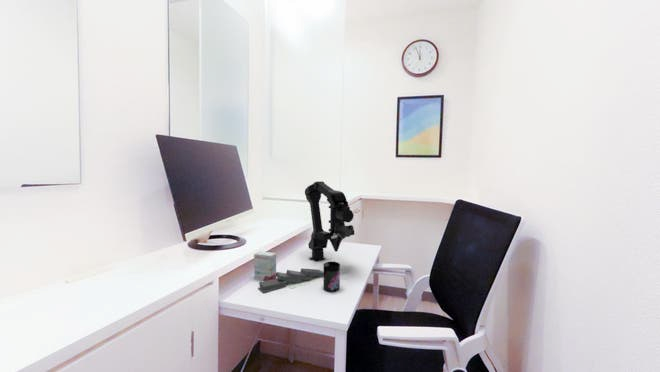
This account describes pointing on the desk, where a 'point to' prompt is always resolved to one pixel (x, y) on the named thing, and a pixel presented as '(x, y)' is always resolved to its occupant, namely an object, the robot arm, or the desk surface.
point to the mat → (304, 281)
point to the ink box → (264, 266)
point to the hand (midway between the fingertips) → (336, 251)
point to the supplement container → (331, 276)
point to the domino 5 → (311, 272)
